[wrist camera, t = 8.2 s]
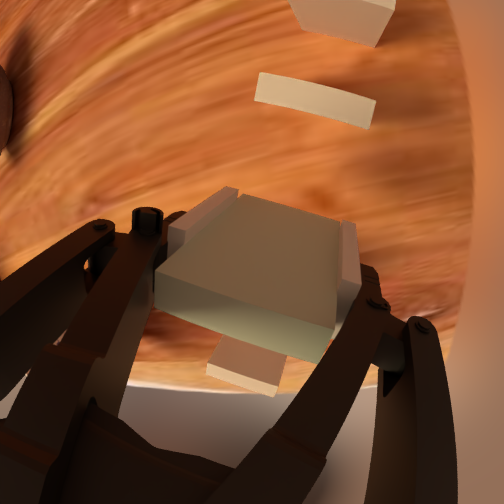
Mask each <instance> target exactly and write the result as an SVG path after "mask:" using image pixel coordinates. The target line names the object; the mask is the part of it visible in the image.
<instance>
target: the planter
mask: <svg viewBox="0 0 504 504" xmlns="http://www.w3.org/2000/svg"><path fill="white" fill-rule="evenodd" d="M12 115H13V94H12V86H11V83H10V81H9V80H8V79H7V76H6V73H5V70H4V69H3V67H2V66H1V65H0V155H1V152H2V149H3V148H4V147H5V146H6V144H7V142H8V139H9V135H10V129H11V124H12Z"/></svg>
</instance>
